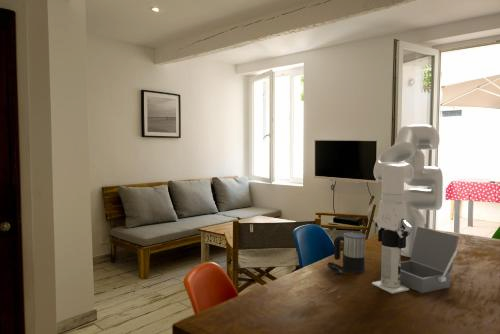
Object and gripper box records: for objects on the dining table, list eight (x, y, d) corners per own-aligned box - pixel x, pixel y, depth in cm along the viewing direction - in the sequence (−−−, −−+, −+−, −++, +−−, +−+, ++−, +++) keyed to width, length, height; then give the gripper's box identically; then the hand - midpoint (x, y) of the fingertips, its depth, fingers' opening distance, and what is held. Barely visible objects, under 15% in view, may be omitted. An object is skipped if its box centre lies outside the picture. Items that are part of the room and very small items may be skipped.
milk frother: (367, 268, 159) (368, 233, 159) (361, 279, 145) (361, 242, 144) (333, 263, 166) (334, 230, 165) (324, 274, 151) (325, 237, 151)
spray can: (401, 289, 134) (403, 233, 133) (381, 287, 135) (383, 232, 134) (398, 282, 140) (399, 229, 139) (379, 281, 142) (380, 228, 141)
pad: (371, 284, 141) (371, 282, 141) (388, 280, 144) (388, 279, 144) (392, 293, 132) (392, 291, 132) (408, 290, 135) (408, 288, 135)
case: (384, 276, 148) (385, 230, 147) (417, 270, 156) (418, 226, 155) (425, 294, 131) (427, 241, 130) (460, 286, 138) (462, 236, 137)
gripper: (367, 195, 142) (367, 239, 144) (403, 202, 127) (402, 252, 128) (382, 194, 145) (382, 237, 147) (419, 200, 130) (418, 249, 131)
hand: (391, 244), depth 137 cm, fingers open, 9 cm apart
